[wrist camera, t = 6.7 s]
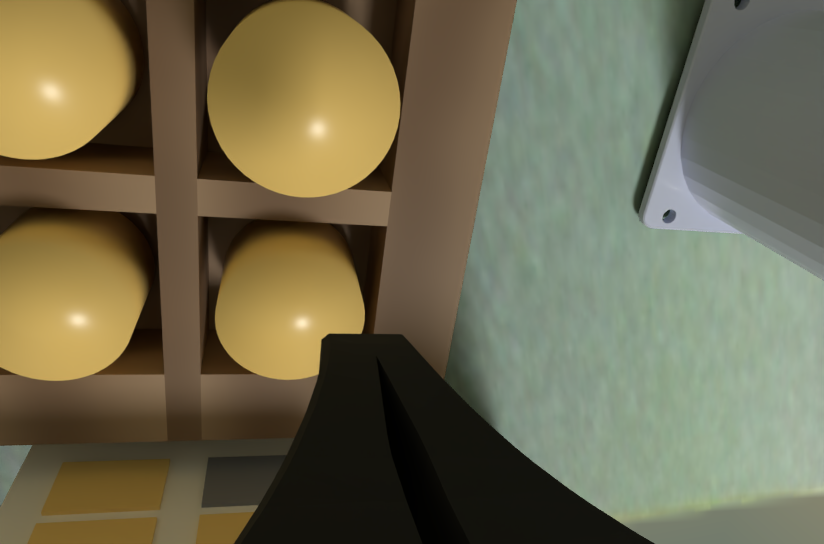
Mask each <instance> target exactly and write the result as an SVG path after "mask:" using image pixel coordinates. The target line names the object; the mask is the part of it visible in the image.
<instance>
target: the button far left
mask: <svg viewBox="0 0 824 544" xmlns="http://www.w3.org/2000/svg"><path fill="white" fill-rule="evenodd" d="M154 274H155V264H154V257H153V254H152V250H151V248H150V246H149V244H148V242H147V240H146V238H145V237H144V235H143V234H142V233H141V231H140V230H139V229H138V228H137V227H136V226H135V225H134V224H133V223H132V222H131V221H130V220H129V219H127V218H126V217H125V216H123V215H122V214H120V213H119V212H117V211H99V210H80V209H62V208H44V207H32V208H30V209H29V210H27V211H26V212H25V213H23V214H22V215H21V216H20V217H19V218H18V219H16V220H15V221H14V222H13V223H12V224H11V225H10V226H9V227H8V228H7V229H6V230H5V231H4V232H3V233H2V234H1V235H0V367H1V368H3V369H5V370H8V371H10V372H12V373H15V374H18V375H21V376H24V377H29V378H33V379H39V380H48V381H63V380H72V379H78V378H82V377H86V376H89V375H92V374H94V373H97V372H99V371H101V370H102V369H104V368H106V367H107V366H109V365H110V364H112V363H113V362H114V361H115V360H116V359H117V358H118V357H119V356H120V355H121V354H122V352H123V351H124V350H125V348H126V347H127V345H128V343H129V341H130V338H131V336H132V333H133V331H134V328H135V326H136V323H137V321H138V318H139V316H140V313H141V311H142V308H143V306H144V303H145V301H146V298H147V296H148V293H149V291H150V288H151V286H152V283H153V279H154Z"/></svg>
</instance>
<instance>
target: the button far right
mask: <svg viewBox="0 0 824 544" xmlns="http://www.w3.org/2000/svg"><path fill="white" fill-rule="evenodd" d="M364 321H365V310H364V303H363V299H362V295H361V291H360V286H359V282H358V278H357V274H356V270H355V266H354V262H353V258H352V254H351V251H350V248H349V246H348V244H347V242H346V241H345V239H344V238H343V236H342V235H341V234H340V233H339V232H338V231H337V230H336V229H335V228H334V227H333V226H332V225H330V224H329V223H318V222H300V221H281V220H263V219H256V220H254V221H252V222H251V223H249V224H248V225H247V226H245V227H244V228H243V229H242V230H241V231H240V232H239V233H238V234H237V235H236V237H235V238H234V239H233V241H232V242H231V244H230V246H229V248H228V251H227V253H226V258H225V262H224V268H223V273H222V278H221V283H220V289H219V294H218V299H217V305H216V310H215V325H216V330H217V334H218V337H219V339H220V342H221V344H222V345H223V347H224V349H225V350H226V352H227V353H228V354H229V355H230V356H231V357H232V358H233V359H234V360H235V361H236V362H237V363H238V364H240V365H241V366H243V367H244V368H246V369H247V370H249V371H251V372H253V373H256V374H258V375H261V376H264V377H268V378H273V379H281V380H294V379H303V378H308V377H312V376H315V375H318V374H319V364H320V351H321V339H323V338H324V337H325V336H326V335H328V334H329V333H331V334H361V333H362V330H363V326H364Z"/></svg>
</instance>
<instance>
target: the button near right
mask: <svg viewBox="0 0 824 544" xmlns="http://www.w3.org/2000/svg"><path fill="white" fill-rule="evenodd" d="M207 102H208V112H209V117H210V122H211V125H212V128H213V131H214V134H215V136H216V138H217V140H218V142H219V144H220V146H221V148H222V149H223V151H224V152H225V154H226V155H227V157H228V158H229V159H230V161H231V162H232V163H233V164H234V165H235V166H236V167H237V168H238V169H239V170H240V171H241V172H242V173H243V174H244V175H245V176H247V177H248V178H250V179H251V180H253V181H254V182H255V183H257V184H259V185H261V186H263V187H265V188H267V189H269V190H272V191H274V192H277V193H280V194H284V195H288V196H294V197H321V196H327V195H331V194H335V193H338V192H341V191H343V190H346V189H348V188H350V187H352V186H354V185H355V184H357V183H359V182H360V181H361V180H363V179H364V178H366V177H367V176H368V175H369V174H370V173H371V172H372V171H373V170H374V169H375V168H376V167H377V166H378V165H379V164H380V162H381V161H382V160H383V158H384V157H385V155H386V154H387V152H388V151H389V149H390V147H391V144H392V142H393V140H394V137H395V134H396V131H397V128H398V123H399V117H400V92H399V86H398V81H397V78H396V75H395V72H394V69H393V66H392V64H391V62H390V60H389V58H388V56H387V54H386V53H385V51H384V50H383V48H382V47H381V45H380V44H379V43H378V41H377V40H376V39H375V38H374V37H373V36H372V34H370V33H369V32H368V31H367V30H366V29H365V28H364V27H363V26H362V25H360V24H359V23H358V22H356V21H355V20H354V19H353V18H351V17H350V16H349V15H347V14H346V13H344V12H343V11H342V10H340V9H339V8H337V7H335V6H333V5H331V4H329V3H326V2H324V1H321V0H272V1H269V2H267V3H264V4H262V5H261V6H259V7H257V8H255V9H254V10H252V11H251V12H250V13H248V14H247V15H246V16H245V17H244V18H243V19H242V20H241V21H240V22H239V23H238V24H237V26H236V27H235V29H234V30H233V31H232V33H231V34H230V36H229V37H228V38H227V40H226V41H225V43H224V44H223V45H222V47H221V48H220V50H219V52H218V54H217V56H216V58H215V60H214V63H213V66H212V69H211V72H210V77H209V82H208V92H207Z"/></svg>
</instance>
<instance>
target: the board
mask: <svg viewBox="0 0 824 544" xmlns="http://www.w3.org/2000/svg"><path fill="white" fill-rule="evenodd" d="M120 1H121V2H122V3H123V4H124V6H125V7H126V9H127V10H128V12H129V13H130V15H131V17H132V19H133V21H134V23H135V25H136V27H137V30H138V32H139V35H140V39H141V43H142V47H143V55H144V68H143V74H142V79H141V82H140V86H139V88H138V90H137V92H136V94H135V96H134V98H133V99H132V100H131V102H130V103H129V104H128V105H127V106H126V108H125V109H124V110H123V111H122V112H120V113H119V114H118V115H117V116H116V117H115V118H114V119H113V120H112V121H111V122H110V123H109V124H108V125H107V126H105V127H104V128H103V129H102V130H101V131H100V132H99V133H98V134H97V135H96V136H95V137H94V138H93V139H91V140H90V141H89V142H87V143H86V144H85V145H84V146H82V147H80V148H78V149H76V150H75V151H73V152H70V153H67V154H65V155H62V156H58V157H54V158H48V159H38V160H34V159H18V158H11V157H6V156H2V155H0V235H1V234H2V233H3V232H4V231H5V230H6V229H7V228H8V227H9V226H10V225H11V224H12V223H13V222H14V221H15V220H16V219H18V218H19V217H20V216H21V215H22V214H23V213H25V212H26V211H27V210H29V209H30V208H32V207H44V208H62V209H80V210H99V211H117V212H119V213H120V214H122V215H123V216H125V217H126V218H127V219H129V220H130V221H131V222H132V223H133V224H134V225H135V226H136V227H137V228H138V229H139V230H140V231H141V233H142V234H143V235H144V237H145V238H146V240H147V242H148V244H149V246H150V248H151V250H152V254H153V257H154V264H155V274H154V279H153V283H152V286H151V288H150V291H149V293H148V296H147V298H146V301H145V303H144V306H143V308H142V311H141V313H140V316H139V318H138V321H137V323H136V326H135V328H134V331H133V333H132V336H131V338H130V341H129V343H128V345H127V347H126V348H125V350H124V351H123V352H122V354H121V355H120V356H119V357H118V358H117V359H116V360H115V361H114V362H113V363H112V364H110V365H109V366H107V367H106V368H104V369H102V370H101V371H99V372H97V373H94V374H92V375H89V376H86V377H82V378H78V379H72V380H63V381H48V380H39V379H33V378H29V377H24V376H21V375H18V374H15V373H12V372H10V371H8V370H5V369H3V368H1V367H0V446H5V445H44V444H82V443H121V442H160V441H198V440H237V439H275V438H295V436H296V434H297V431H298V429H299V427H300V425H301V422H302V420H303V418H304V416H305V413H306V411H307V408H308V405H309V402H310V399H311V396H312V393H313V390H314V387H315V384H316V381H317V378H318V375H315V376H312V377H308V378H303V379H294V380H281V379H273V378H268V377H264V376H261V375H258V374H256V373H253V372H251V371H249V370H247V369H246V368H244V367H243V366H241V365H240V364H238V363H237V362H236V361H235V360H234V359H233V358H232V357H231V356H230V355H229V354H228V353H227V352H226V350H225V349H224V347H223V345H222V344H221V342H220V339H219V337H218V334H217V330H216V325H215V310H216V305H217V299H218V294H219V289H220V283H221V278H222V273H223V268H224V262H225V258H226V253H227V251H228V248H229V246H230V244H231V242H232V241H233V239H234V238H235V237H236V235H237V234H238V233H239V232H240V231H241V230H242V229H243V228H244V227H245V226H247V225H248V224H249V223H251V222H252V221H254V220H256V219H263V220H281V221H300V222H318V223H329V224H330V225H332V226H333V227H334V228H335V229H336V230H337V231H338V232H339V233H340V234H341V235H342V236H343V238H344V239H345V241H346V242H347V244H348V246H349V248H350V251H351V254H352V258H353V262H354V266H355V270H356V274H357V278H358V282H359V286H360V291H361V295H362V299H363V303H364V310H365V321H364V326H363V330H362V333H361V334H402V335H403V336H404V337H405V338H406V339H407V340H408V341H409V342H410V343H411V344H412V345H413V347H414V348H415V349H416V350H417V351H418V352H419V353H420V354H421V355H422V356H423V358H424V359H425V360H426V361H427V362H428V363H429V364H430V365H431V366H432V367H433V369H434V370H435V371H436V372H437V373H438V374H439V375H440V376H441V377H442V378H443V379H444V378H445V373H446V367H447V362H448V357H449V352H450V347H451V341H452V336H453V331H454V326H455V320H456V315H457V310H458V305H459V300H460V294H461V289H462V284H463V279H464V273H465V268H466V263H467V258H468V253H469V247H470V242H471V237H472V232H473V227H474V221H475V216H476V211H477V206H478V200H479V195H480V190H481V185H482V180H483V174H484V169H485V164H486V159H487V153H488V148H489V143H490V138H491V133H492V127H493V122H494V117H495V112H496V107H497V101H498V96H499V91H500V86H501V80H502V75H503V70H504V65H505V60H506V54H507V49H508V44H509V39H510V33H511V28H512V23H513V18H514V13H515V7H516V2H517V0H321V1H324V2H326V3H329V4H331V5H333V6H335V7H337V8H339V9H340V10H342V11H343V12H344V13H346V14H347V15H349V16H350V17H351V18H353V19H354V20H355V21H356V22H358V23H359V24H360V25H362V26H363V27H364V28H365V29H366V30H367V31H368V32H369V33H370V34H372V36H373V37H374V38H375V39H376V40H377V41H378V43H379V44H380V45H381V47H382V48H383V50H384V51H385V53H386V54H387V56H388V58H389V60H390V62H391V64H392V66H393V69H394V72H395V75H396V78H397V81H398V86H399V92H400V117H399V123H398V128H397V131H396V134H395V137H394V140H393V142H392V144H391V147H390V149H389V151H388V152H387V154H386V155H385V157H384V158H383V160H382V161H381V162H380V164H379V165H378V166H377V167H376V168H375V169H374V170H373V171H372V172H371V173H370V174H369V175H368V176H367V177H366V178H364V179H363V180H361V181H360V182H359V183H357V184H355V185H354V186H352V187H350V188H348V189H346V190H343V191H341V192H338V193H335V194H331V195H327V196H321V197H294V196H288V195H284V194H280V193H277V192H274V191H272V190H269V189H267V188H265V187H263V186H261V185H259V184H257V183H255V182H254V181H253V180H251V179H250V178H248V177H247V176H245V175H244V174H243V173H242V172H241V171H240V170H239V169H238V168H237V167H236V166H235V165H234V164H233V163H232V162H231V161H230V159H229V158H228V157H227V155H226V154H225V152H224V151H223V149H222V148H221V146H220V144H219V142H218V140H217V138H216V136H215V134H214V131H213V128H212V125H211V122H210V117H209V112H208V102H207V92H208V82H209V77H210V72H211V69H212V66H213V63H214V60H215V58H216V56H217V54H218V52H219V50H220V48H221V47H222V45H223V44H224V43H225V41H226V40H227V38H228V37H229V36H230V34H231V33H232V31H233V30H234V29H235V27H236V26H237V24H238V23H239V22H240V21H241V20H242V19H243V18H244V17H245V16H246V15H247V14H248V13H250V12H251V11H252V10H254V9H255V8H257V7H259V6H261V5H262V4H264V3H267V2H269V1H272V0H120Z"/></svg>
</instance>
